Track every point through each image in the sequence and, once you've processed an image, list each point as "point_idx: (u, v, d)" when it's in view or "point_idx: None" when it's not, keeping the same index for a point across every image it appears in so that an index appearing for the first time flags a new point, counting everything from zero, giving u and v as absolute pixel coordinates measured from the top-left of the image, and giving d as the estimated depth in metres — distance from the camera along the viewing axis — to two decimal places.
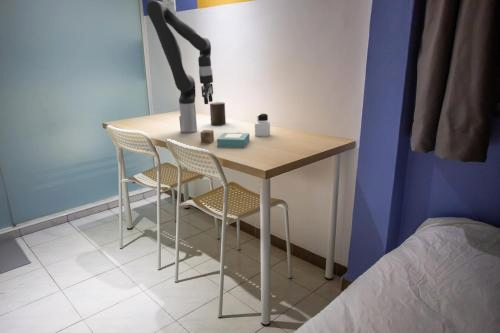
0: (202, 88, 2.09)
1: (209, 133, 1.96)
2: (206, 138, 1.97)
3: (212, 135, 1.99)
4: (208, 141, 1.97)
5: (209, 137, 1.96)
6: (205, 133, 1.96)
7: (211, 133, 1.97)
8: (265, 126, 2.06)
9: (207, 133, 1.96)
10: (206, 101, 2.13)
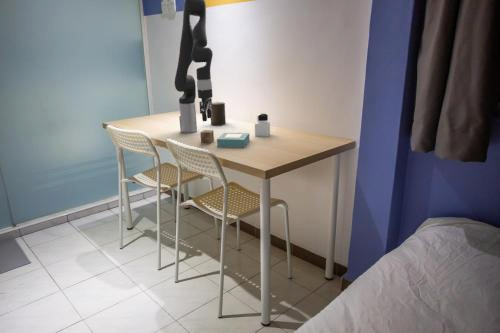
0: (200, 104, 1.87)
1: (209, 133, 1.96)
2: (206, 138, 1.97)
3: (212, 135, 1.99)
4: (208, 141, 1.97)
5: (209, 137, 1.96)
6: (205, 133, 1.96)
7: (211, 133, 1.97)
8: (265, 126, 2.06)
9: (207, 133, 1.96)
10: (204, 118, 1.91)
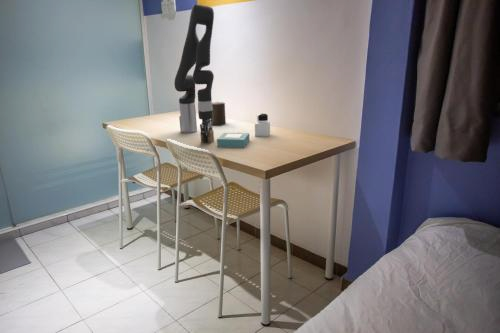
0: (201, 127, 1.91)
1: (209, 133, 1.96)
2: None
3: (212, 135, 1.99)
4: (208, 141, 1.97)
5: (209, 137, 1.96)
6: None
7: (211, 133, 1.97)
8: (265, 126, 2.06)
9: None
10: (205, 139, 1.96)
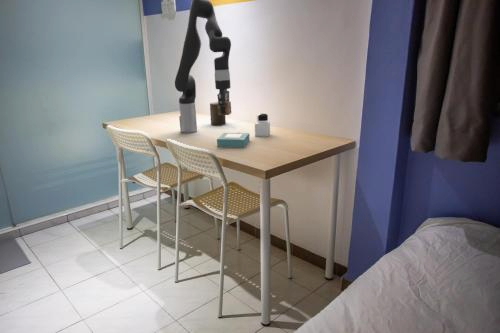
0: (218, 97, 1.82)
1: (227, 104, 1.87)
2: None
3: (229, 106, 1.90)
4: (226, 112, 1.88)
5: (227, 108, 1.88)
6: None
7: (229, 104, 1.89)
8: (265, 126, 2.06)
9: None
10: (223, 110, 1.87)
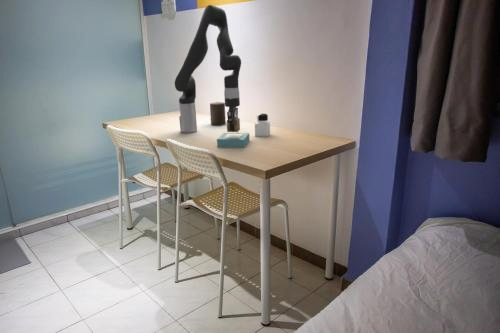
0: (228, 114, 1.84)
1: (236, 121, 1.89)
2: None
3: (238, 123, 1.92)
4: (235, 129, 1.90)
5: (236, 125, 1.89)
6: None
7: (238, 121, 1.90)
8: (265, 126, 2.06)
9: (234, 121, 1.89)
10: (232, 128, 1.89)
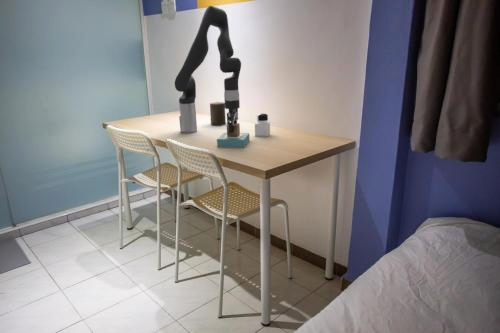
0: (228, 115, 1.84)
1: (236, 126, 1.89)
2: None
3: (238, 128, 1.93)
4: (234, 134, 1.91)
5: (236, 130, 1.90)
6: None
7: (237, 126, 1.91)
8: (265, 126, 2.06)
9: (234, 126, 1.90)
10: (231, 129, 1.88)
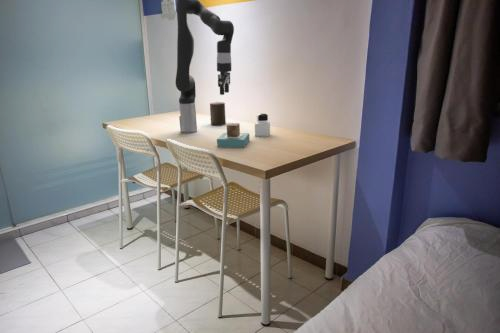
0: (219, 77, 1.88)
1: (236, 126, 1.89)
2: (232, 131, 1.91)
3: (238, 128, 1.93)
4: (234, 134, 1.91)
5: (236, 130, 1.90)
6: (231, 127, 1.90)
7: (237, 126, 1.91)
8: (265, 126, 2.06)
9: (234, 126, 1.90)
10: (222, 91, 1.92)
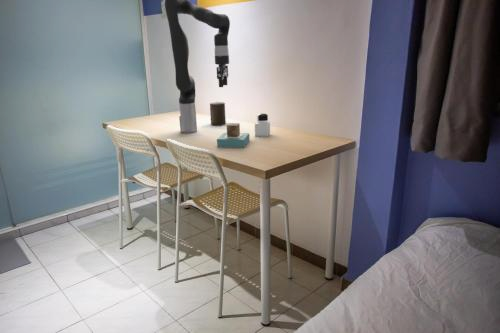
0: (217, 69, 1.92)
1: (236, 126, 1.89)
2: (232, 131, 1.91)
3: (238, 128, 1.93)
4: (234, 134, 1.91)
5: (236, 130, 1.90)
6: (231, 127, 1.90)
7: (237, 126, 1.91)
8: (265, 126, 2.06)
9: (234, 126, 1.90)
10: (221, 84, 1.96)
